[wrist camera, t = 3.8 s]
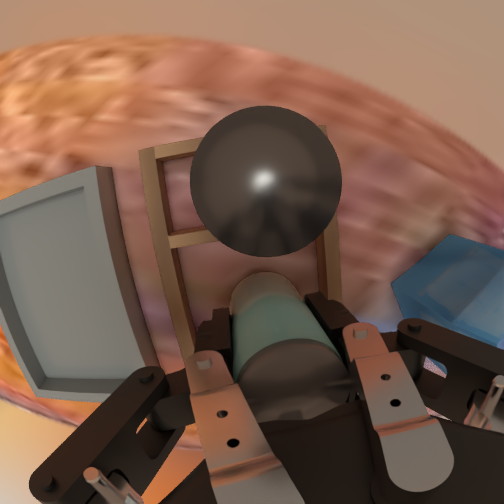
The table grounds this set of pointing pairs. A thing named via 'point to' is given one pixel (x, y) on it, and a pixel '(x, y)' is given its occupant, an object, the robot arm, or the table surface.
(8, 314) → the dish
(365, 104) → the table surface
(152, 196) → the rack
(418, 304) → the perfume bottle
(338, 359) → the cylinder
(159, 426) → the robot arm
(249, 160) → the glass vial
